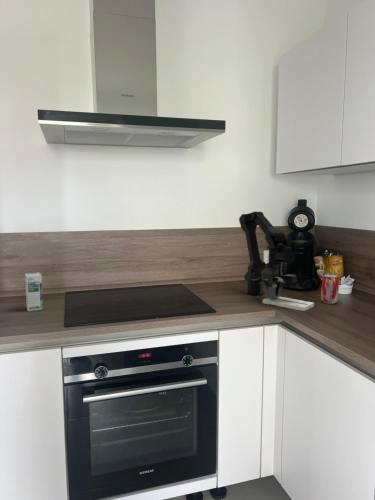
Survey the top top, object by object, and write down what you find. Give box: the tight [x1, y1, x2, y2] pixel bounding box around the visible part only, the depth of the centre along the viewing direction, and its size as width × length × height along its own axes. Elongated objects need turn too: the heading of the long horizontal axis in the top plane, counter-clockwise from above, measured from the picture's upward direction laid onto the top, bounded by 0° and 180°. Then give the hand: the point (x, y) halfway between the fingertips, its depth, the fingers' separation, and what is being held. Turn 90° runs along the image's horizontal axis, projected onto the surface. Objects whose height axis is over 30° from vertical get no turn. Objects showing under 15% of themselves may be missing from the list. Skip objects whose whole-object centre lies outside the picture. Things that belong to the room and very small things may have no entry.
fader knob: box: [267, 284, 281, 299], centre depth 170 cm, size 3×5×5 cm, turn 140°
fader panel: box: [262, 296, 315, 312], centre depth 166 cm, size 19×10×2 cm, turn 50°
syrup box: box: [24, 272, 44, 312], centre depth 155 cm, size 6×6×14 cm
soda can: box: [320, 274, 340, 305], centre depth 170 cm, size 7×7×12 cm
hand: (273, 295), depth 170 cm, fingers closed on fader knob, 3 cm apart
